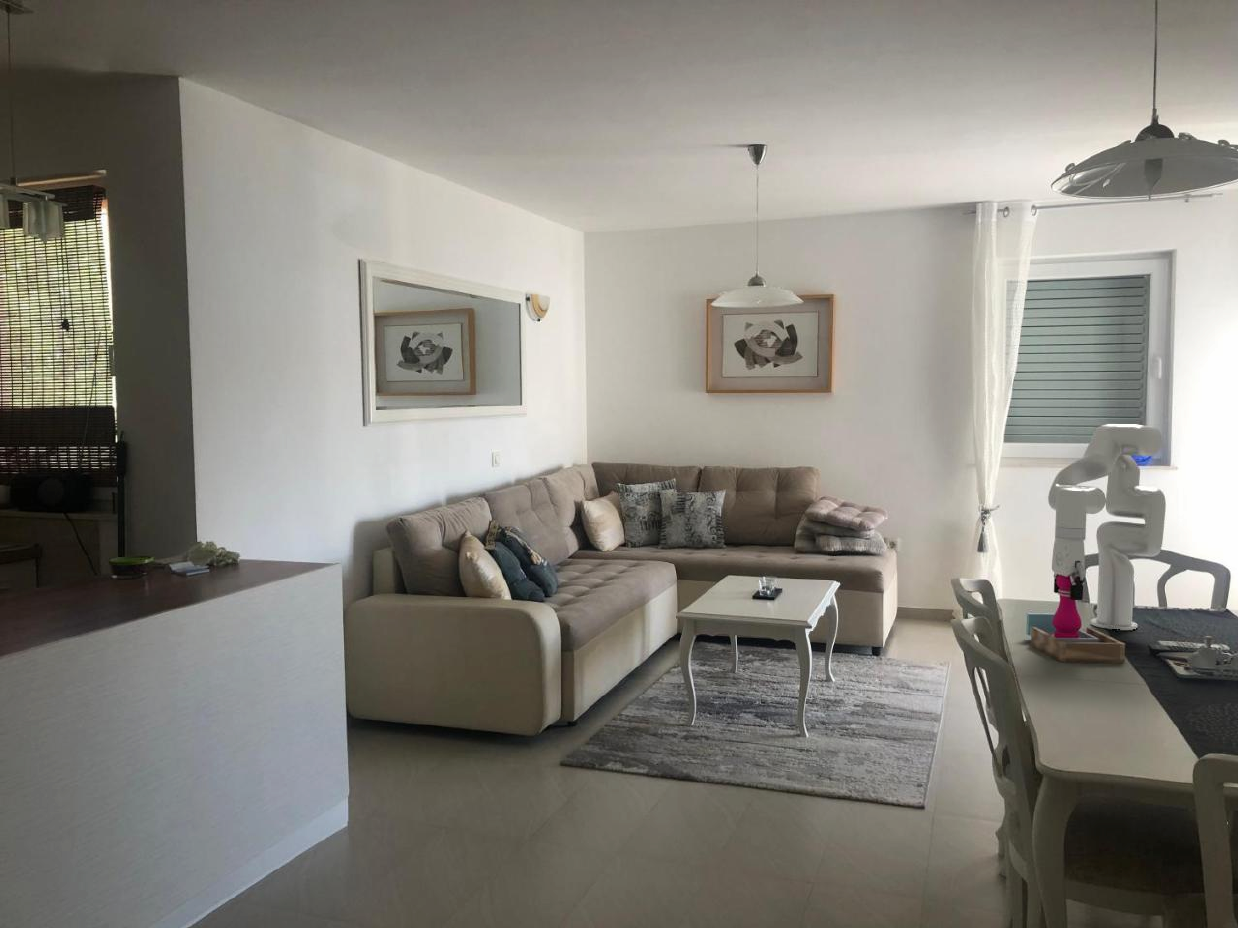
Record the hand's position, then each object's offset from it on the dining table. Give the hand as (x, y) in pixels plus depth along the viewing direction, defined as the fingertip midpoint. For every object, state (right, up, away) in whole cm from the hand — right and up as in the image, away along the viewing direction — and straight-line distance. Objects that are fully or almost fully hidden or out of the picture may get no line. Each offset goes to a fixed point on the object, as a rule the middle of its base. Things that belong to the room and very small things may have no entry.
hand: (1067, 596), depth 268 cm
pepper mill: (0, -12, +1) cm, 12 cm away
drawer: (0, -13, +3) cm, 13 cm away
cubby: (0, -15, -6) cm, 16 cm away
